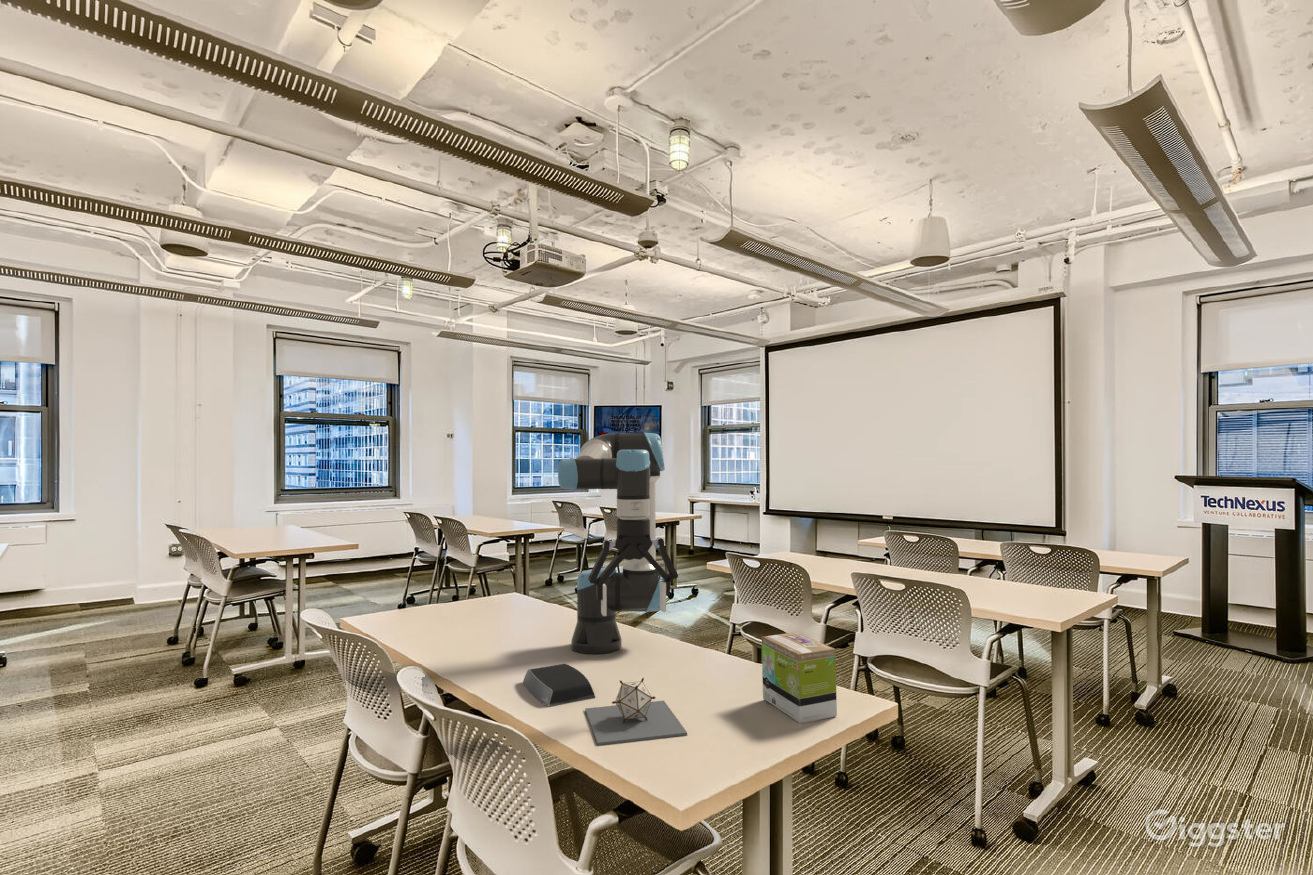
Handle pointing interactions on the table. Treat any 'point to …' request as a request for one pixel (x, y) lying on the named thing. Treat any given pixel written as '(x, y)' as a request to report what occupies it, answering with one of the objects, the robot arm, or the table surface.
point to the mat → (633, 724)
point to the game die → (633, 700)
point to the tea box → (799, 676)
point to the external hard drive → (558, 685)
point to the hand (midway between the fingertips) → (633, 612)
